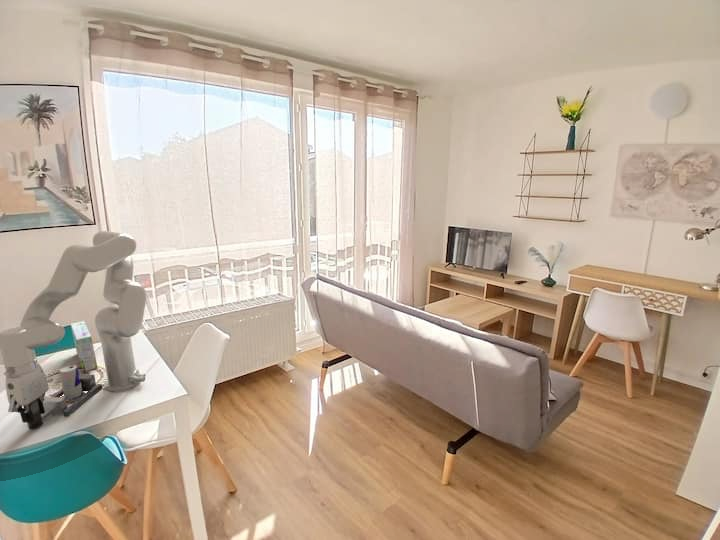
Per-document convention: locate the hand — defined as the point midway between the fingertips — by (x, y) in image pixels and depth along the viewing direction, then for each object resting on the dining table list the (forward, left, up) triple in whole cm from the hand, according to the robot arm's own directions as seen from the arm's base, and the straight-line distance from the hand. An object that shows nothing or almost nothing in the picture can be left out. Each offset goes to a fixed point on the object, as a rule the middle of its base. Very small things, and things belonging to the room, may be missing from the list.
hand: (33, 417), depth 122 cm
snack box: (+15, -44, -4) cm, 46 cm away
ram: (0, -3, -3) cm, 5 cm away
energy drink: (0, -17, -4) cm, 17 cm away
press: (0, -14, -4) cm, 15 cm away
